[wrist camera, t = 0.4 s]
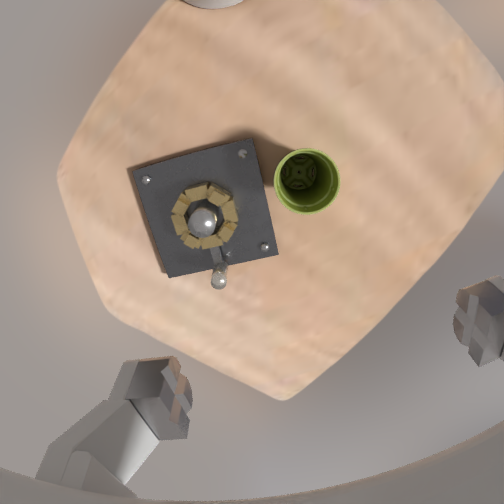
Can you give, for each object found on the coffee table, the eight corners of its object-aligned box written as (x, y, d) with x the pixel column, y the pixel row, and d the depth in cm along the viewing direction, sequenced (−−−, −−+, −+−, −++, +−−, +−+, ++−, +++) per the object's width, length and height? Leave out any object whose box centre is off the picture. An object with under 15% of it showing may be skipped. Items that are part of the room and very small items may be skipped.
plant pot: (269, 199, 53) (273, 215, 45) (269, 143, 49) (273, 147, 41) (324, 199, 53) (338, 214, 45) (326, 144, 49) (341, 149, 41)
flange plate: (135, 169, 50) (119, 178, 43) (252, 137, 49) (253, 141, 42) (170, 274, 58) (161, 295, 51) (277, 251, 57) (282, 270, 50)
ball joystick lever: (168, 192, 50) (158, 202, 44) (228, 176, 49) (226, 184, 44) (195, 276, 56) (190, 295, 51) (251, 265, 56) (251, 282, 50)
